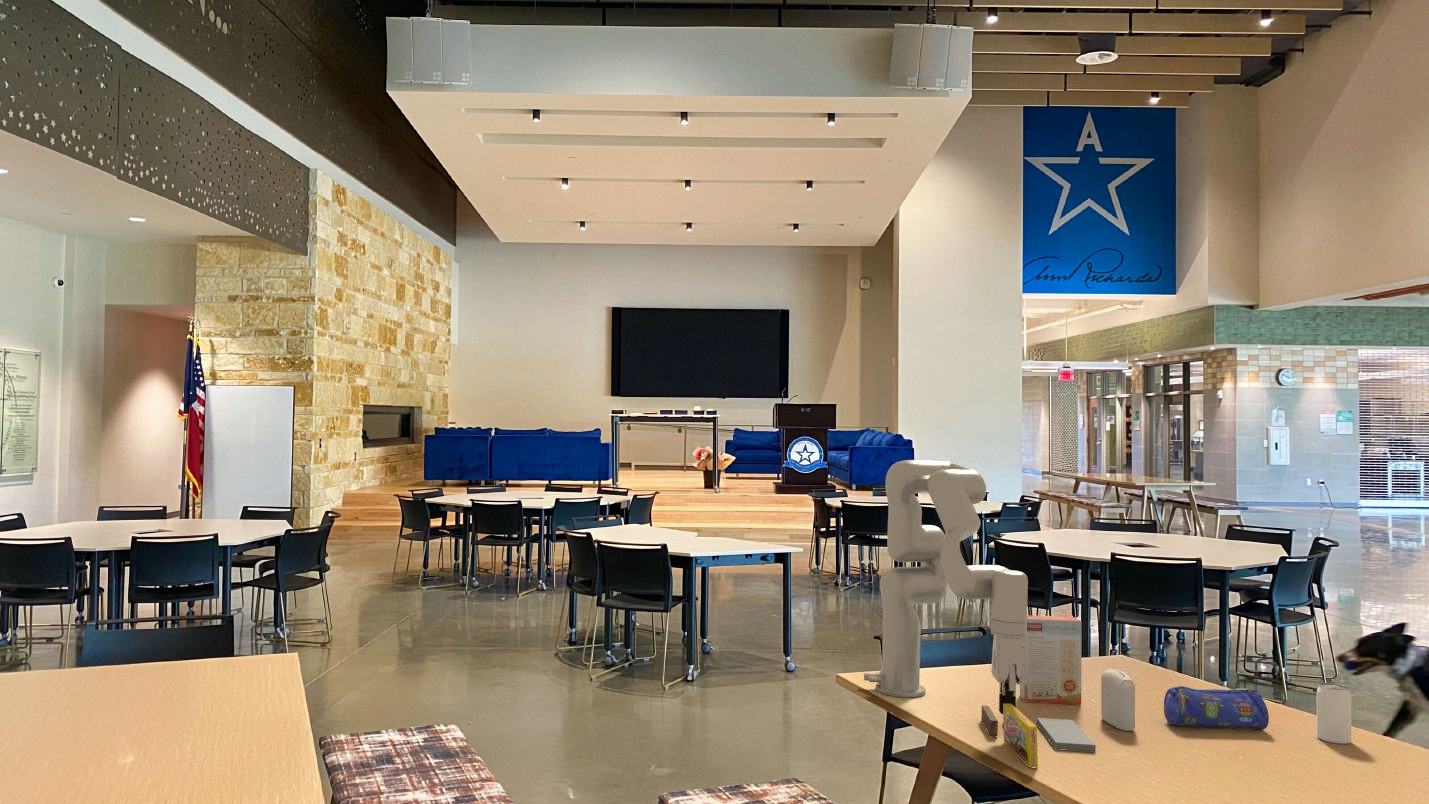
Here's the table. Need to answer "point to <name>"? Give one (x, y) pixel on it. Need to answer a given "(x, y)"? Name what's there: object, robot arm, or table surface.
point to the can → (1334, 713)
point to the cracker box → (1051, 660)
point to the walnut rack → (989, 721)
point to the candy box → (1020, 735)
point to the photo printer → (1118, 700)
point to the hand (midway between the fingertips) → (1007, 713)
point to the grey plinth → (1065, 734)
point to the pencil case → (1216, 708)
